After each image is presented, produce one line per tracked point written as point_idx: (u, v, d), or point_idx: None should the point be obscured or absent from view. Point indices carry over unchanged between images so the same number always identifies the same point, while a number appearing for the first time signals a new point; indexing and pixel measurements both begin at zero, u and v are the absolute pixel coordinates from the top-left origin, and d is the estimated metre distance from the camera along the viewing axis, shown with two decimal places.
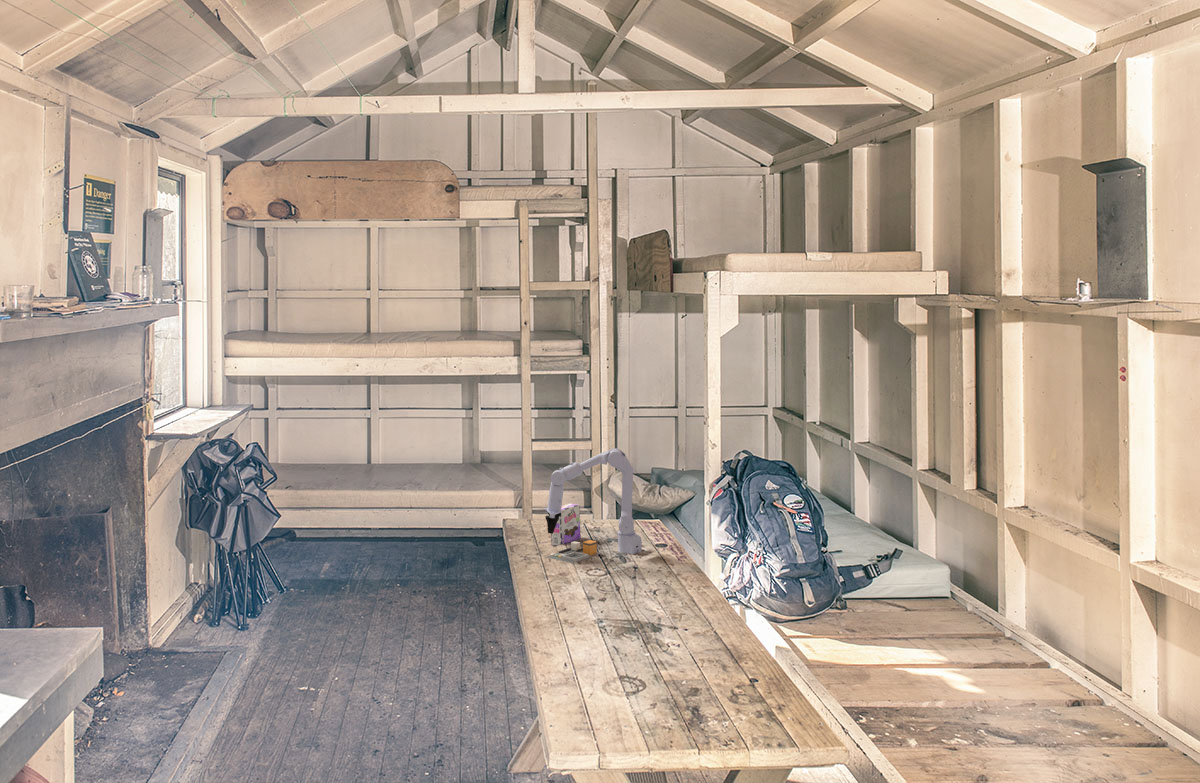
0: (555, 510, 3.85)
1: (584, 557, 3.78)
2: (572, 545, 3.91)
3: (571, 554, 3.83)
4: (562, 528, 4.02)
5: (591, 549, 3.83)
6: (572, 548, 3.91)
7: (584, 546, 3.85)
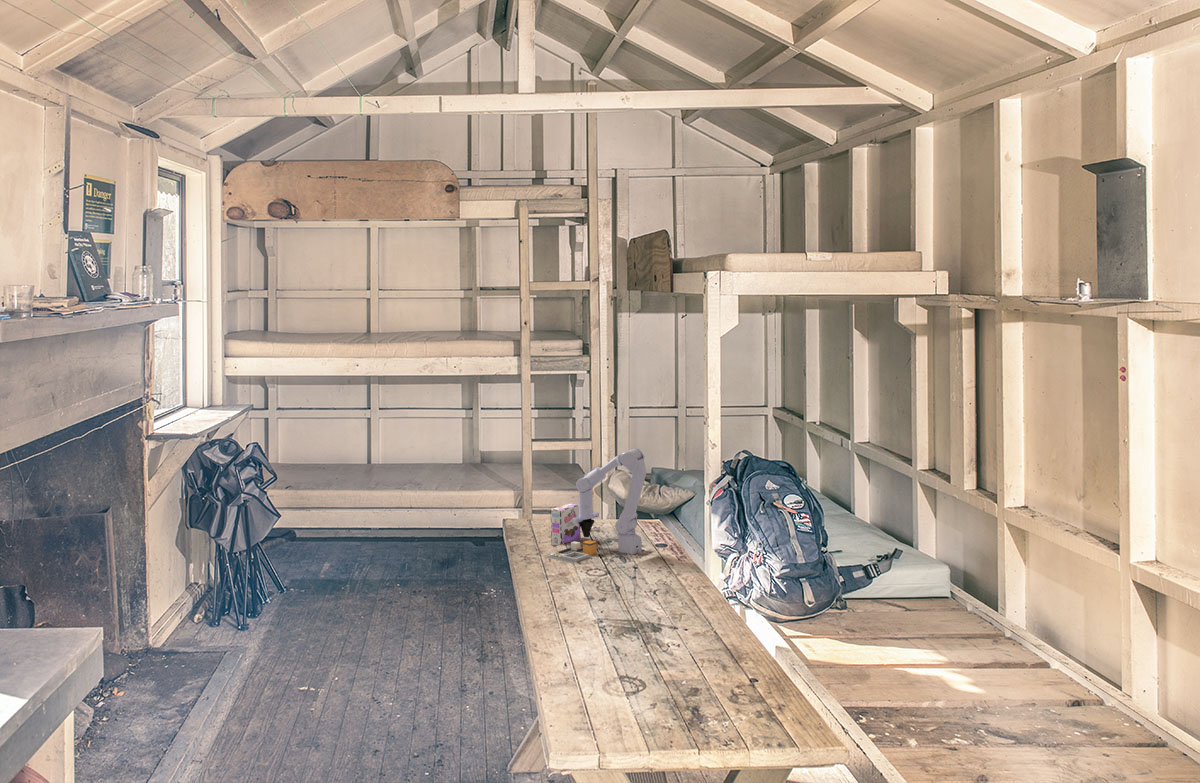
0: (582, 516, 3.93)
1: (584, 557, 3.78)
2: (572, 545, 3.91)
3: (571, 554, 3.83)
4: (562, 528, 4.02)
5: (591, 549, 3.83)
6: (572, 548, 3.91)
7: (584, 546, 3.85)
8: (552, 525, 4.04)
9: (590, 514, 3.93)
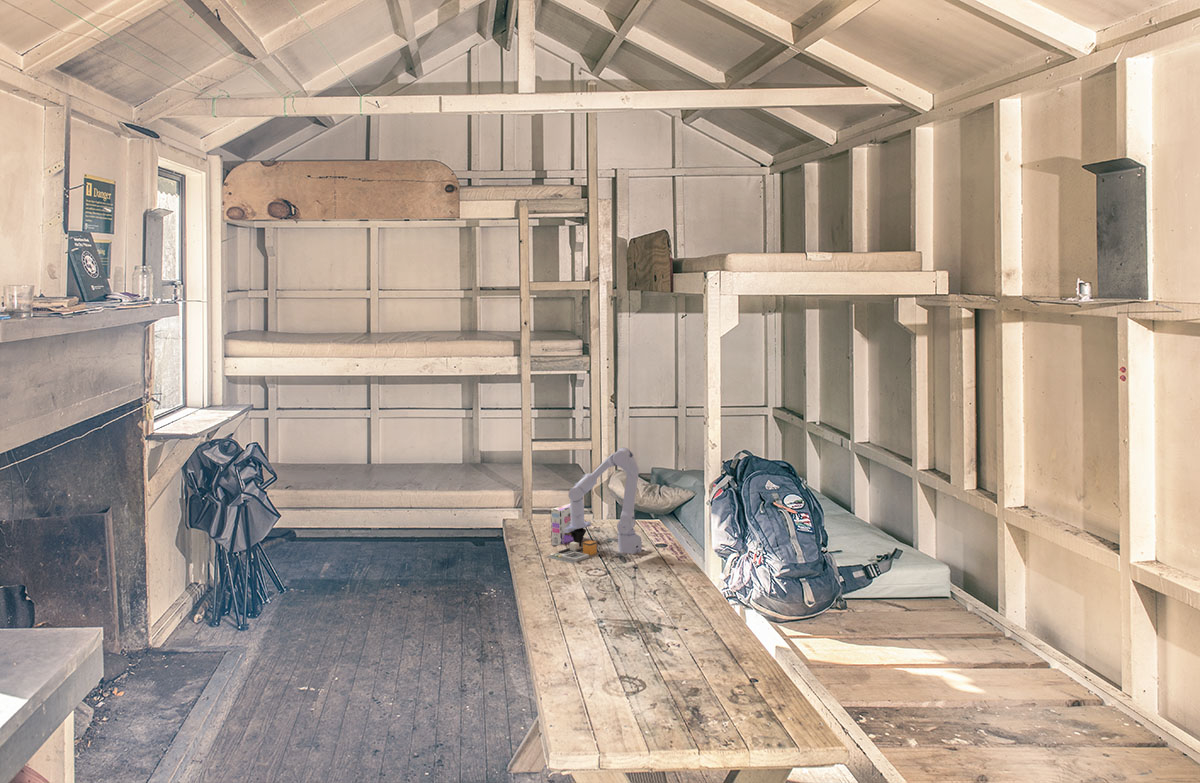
0: (574, 525, 3.89)
1: (584, 557, 3.78)
2: (571, 545, 3.90)
3: (571, 554, 3.83)
4: (562, 528, 4.02)
5: (591, 549, 3.83)
6: (571, 548, 3.91)
7: (584, 546, 3.85)
8: (552, 525, 4.04)
9: (582, 523, 3.90)
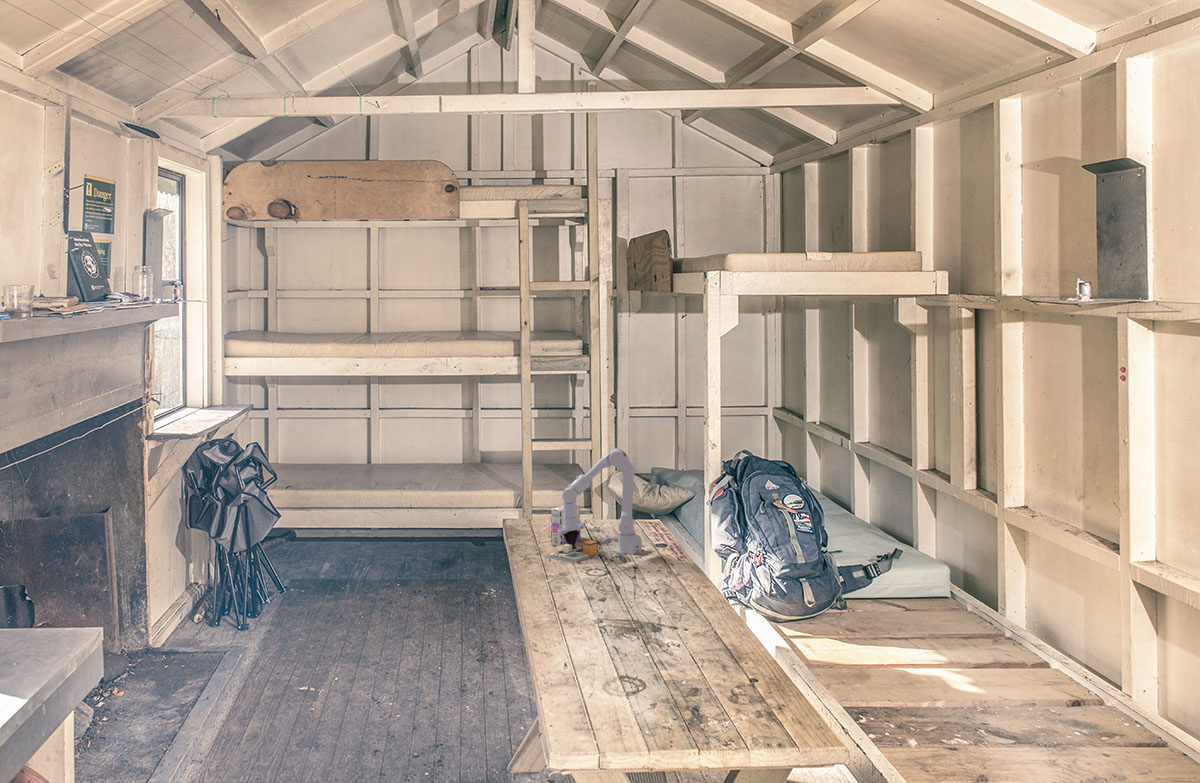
0: (567, 527, 3.86)
1: (584, 557, 3.78)
2: (564, 548, 3.87)
3: (571, 554, 3.83)
4: None
5: (591, 549, 3.83)
6: (564, 551, 3.87)
7: (584, 546, 3.85)
8: (552, 525, 4.04)
9: (575, 525, 3.87)
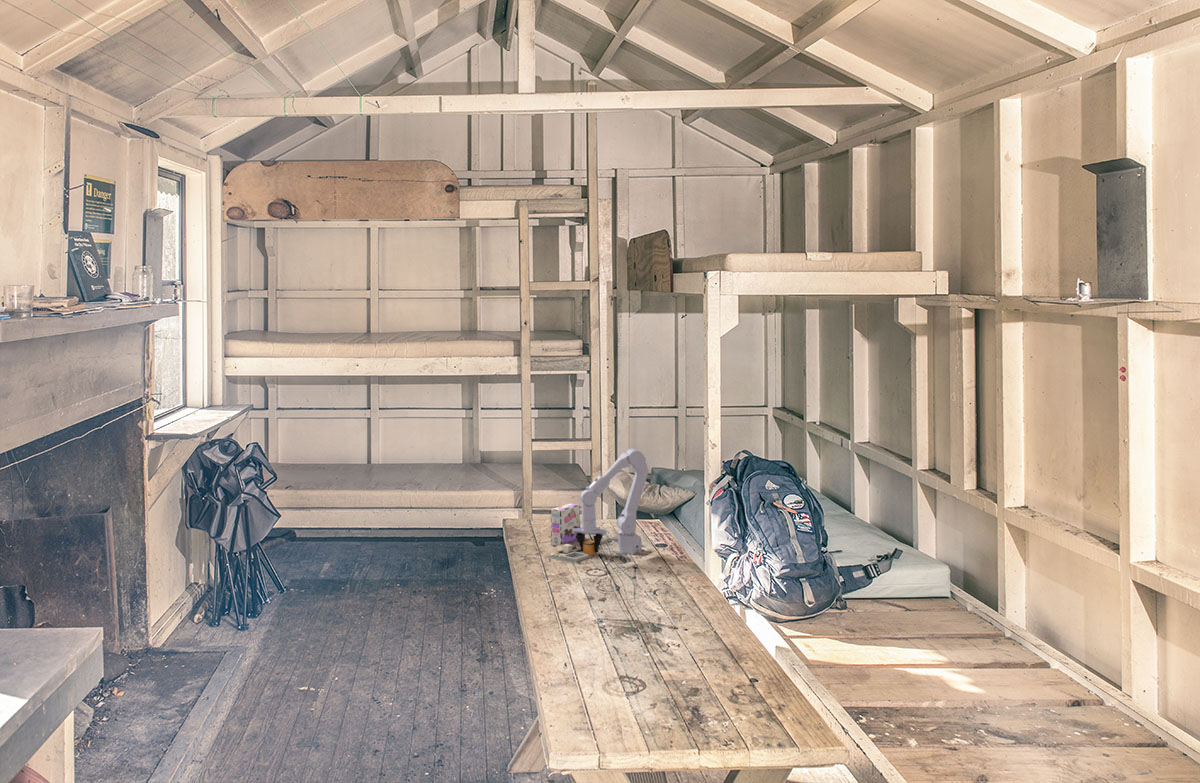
0: (582, 529, 3.85)
1: (584, 557, 3.78)
2: (564, 548, 3.87)
3: (571, 554, 3.83)
4: (562, 528, 4.02)
5: (591, 549, 3.83)
6: (564, 551, 3.87)
7: (584, 546, 3.85)
8: (552, 525, 4.04)
9: (586, 529, 3.82)
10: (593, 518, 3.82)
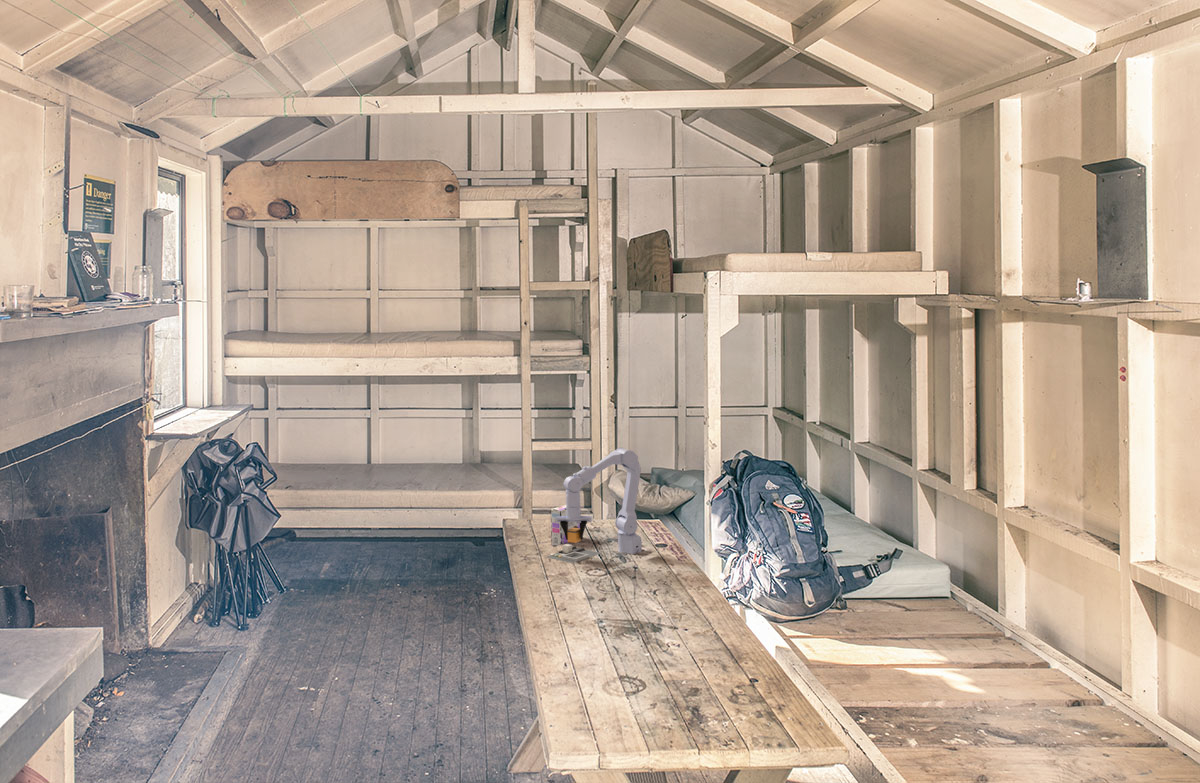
0: (566, 516, 3.77)
1: (584, 557, 3.78)
2: (564, 548, 3.87)
3: (571, 554, 3.83)
4: None
5: (577, 536, 3.77)
6: (564, 551, 3.87)
7: (569, 534, 3.77)
8: (552, 525, 4.04)
9: (572, 516, 3.75)
10: (578, 505, 3.76)
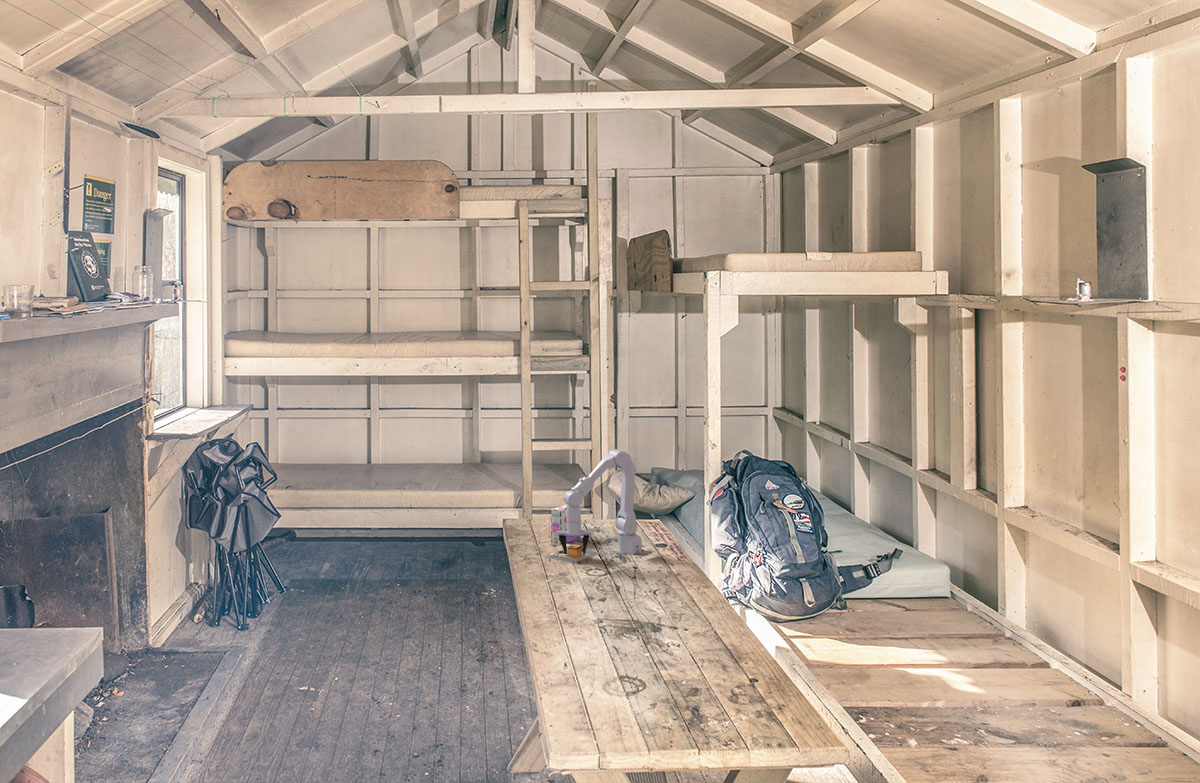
0: (567, 531, 3.78)
1: (584, 557, 3.78)
2: None
3: None
4: (562, 528, 4.02)
5: (577, 553, 3.77)
6: None
7: (569, 551, 3.78)
8: (552, 525, 4.04)
9: (572, 530, 3.76)
10: (579, 519, 3.76)
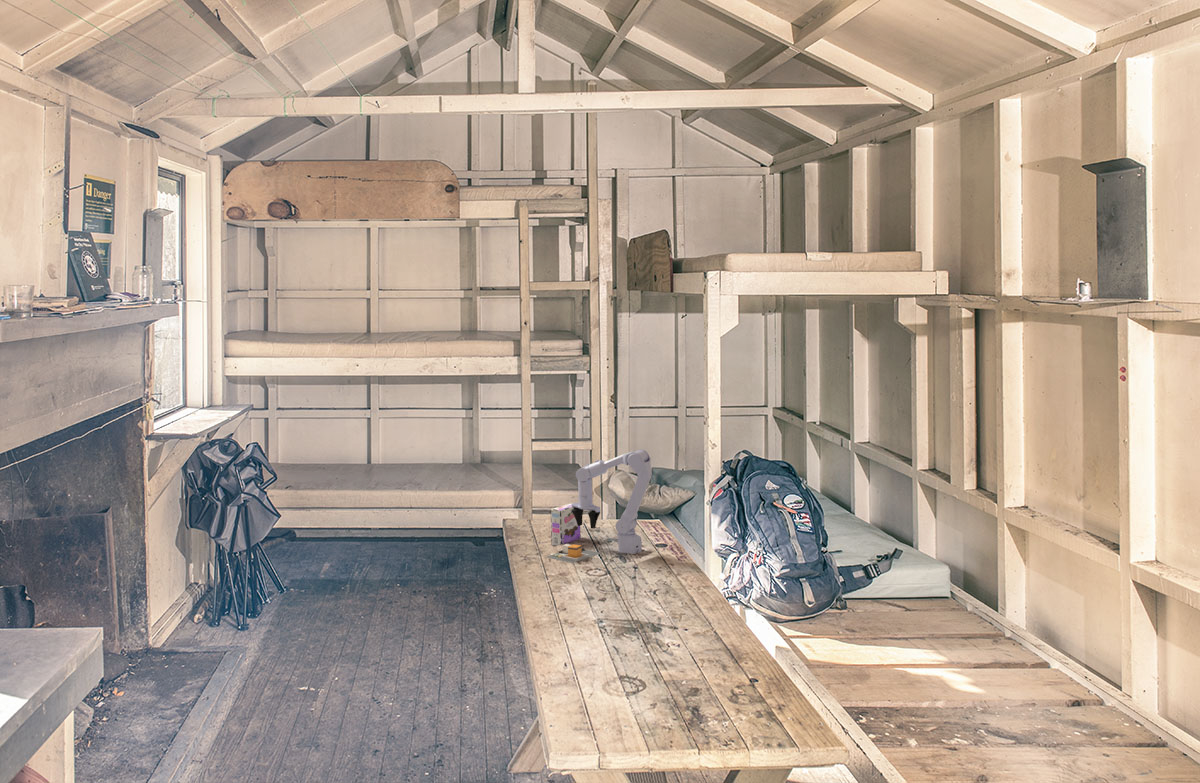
0: None
1: (584, 557, 3.78)
2: (564, 548, 3.87)
3: None
4: (562, 528, 4.02)
5: (577, 553, 3.77)
6: (564, 551, 3.87)
7: (569, 551, 3.78)
8: (552, 525, 4.04)
9: (580, 504, 3.92)
10: (586, 494, 3.90)
